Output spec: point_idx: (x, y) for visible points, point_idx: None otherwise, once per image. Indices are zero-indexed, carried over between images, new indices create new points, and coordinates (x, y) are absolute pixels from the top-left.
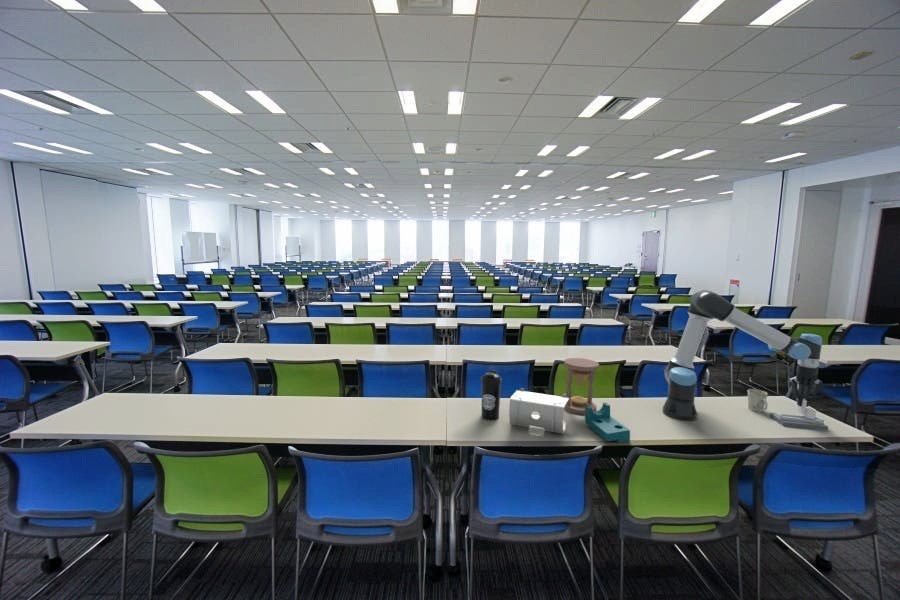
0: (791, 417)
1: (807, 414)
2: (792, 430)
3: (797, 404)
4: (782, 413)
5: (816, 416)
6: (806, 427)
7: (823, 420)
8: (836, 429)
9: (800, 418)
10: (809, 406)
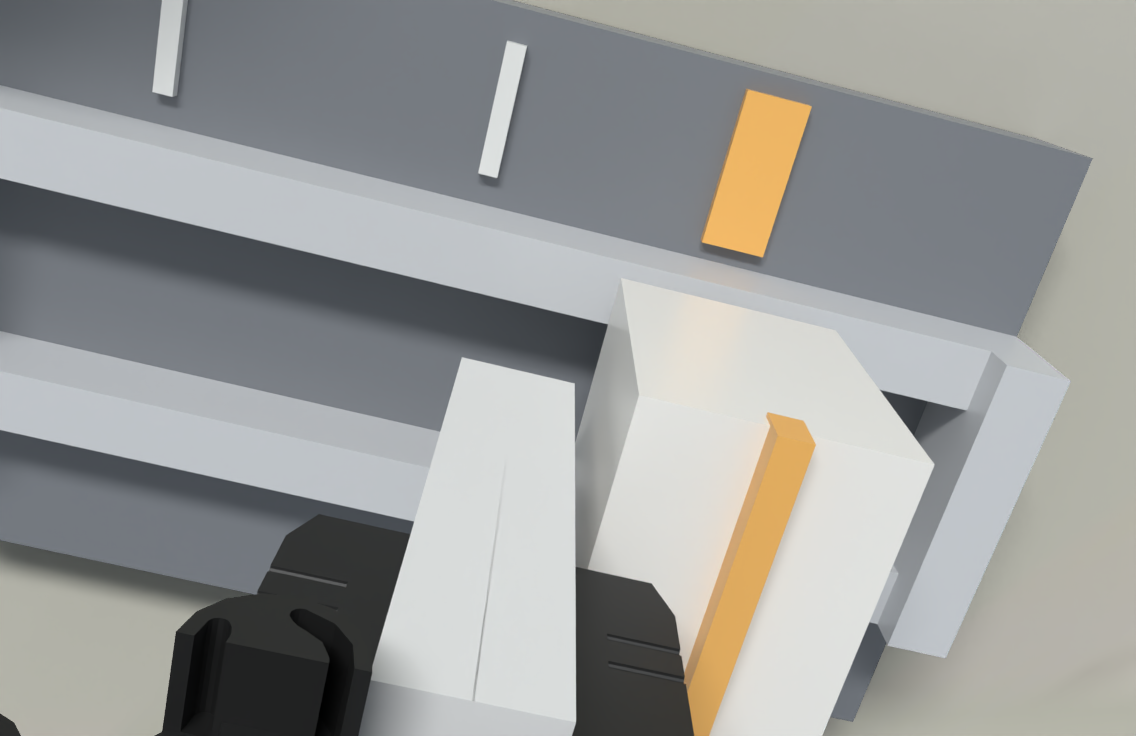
0: (165, 439)
1: None
2: (14, 670)
3: (292, 550)
4: (102, 133)
5: (981, 441)
6: None
7: (921, 646)
8: (1115, 595)
9: (392, 497)
10: (929, 467)
